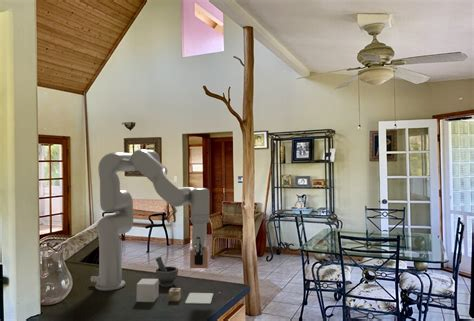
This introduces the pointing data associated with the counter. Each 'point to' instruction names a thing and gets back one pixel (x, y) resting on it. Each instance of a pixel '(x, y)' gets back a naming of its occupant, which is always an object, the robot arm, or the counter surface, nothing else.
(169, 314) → the counter surface
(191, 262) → the orange-brown cube
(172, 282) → the mortar and pestle
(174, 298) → the tan plus cube
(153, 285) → the white cube
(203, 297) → the sage pad
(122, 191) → the robot arm
